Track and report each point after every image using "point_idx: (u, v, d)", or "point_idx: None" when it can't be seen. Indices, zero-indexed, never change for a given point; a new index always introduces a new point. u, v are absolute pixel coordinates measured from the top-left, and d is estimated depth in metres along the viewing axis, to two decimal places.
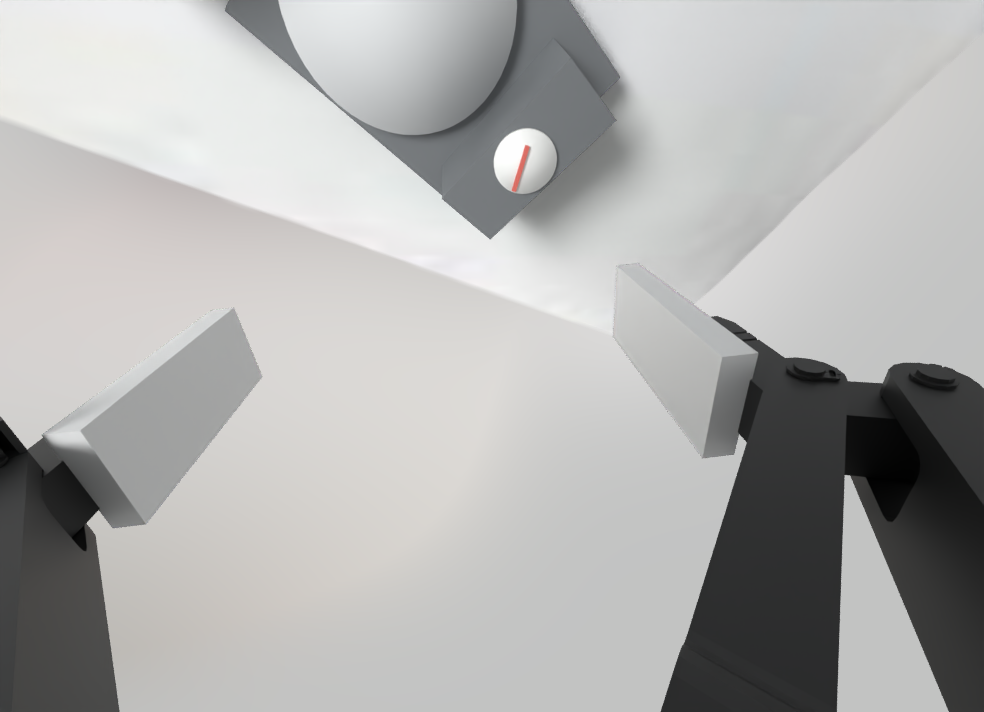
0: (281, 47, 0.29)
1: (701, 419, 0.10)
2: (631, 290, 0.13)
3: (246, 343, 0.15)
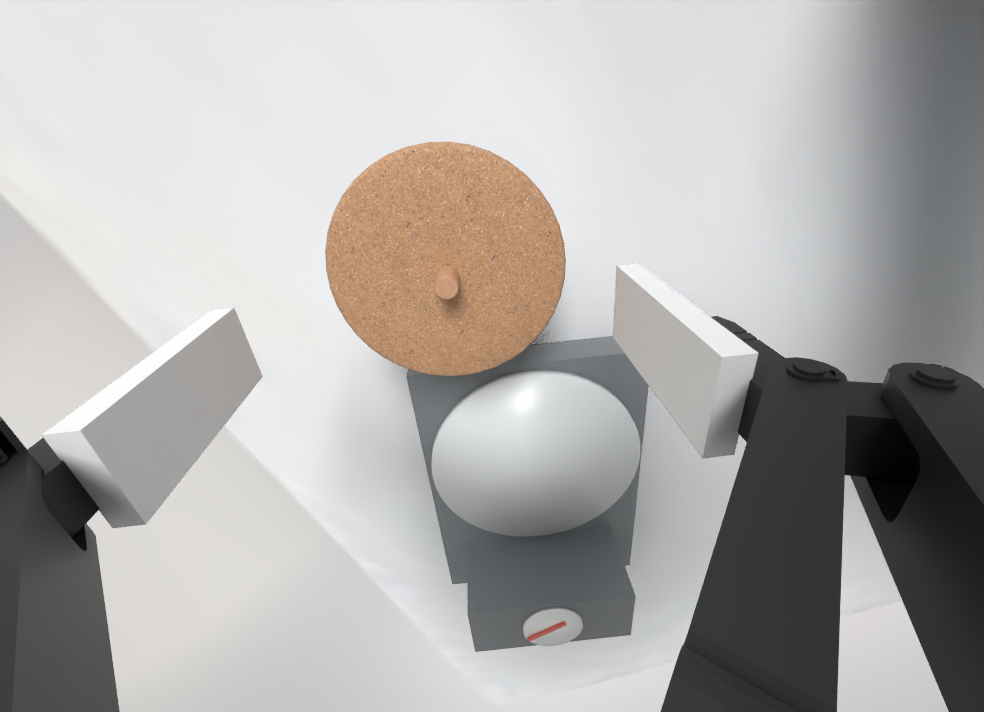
0: (424, 418, 0.29)
1: (701, 419, 0.10)
2: (631, 290, 0.13)
3: (246, 343, 0.15)
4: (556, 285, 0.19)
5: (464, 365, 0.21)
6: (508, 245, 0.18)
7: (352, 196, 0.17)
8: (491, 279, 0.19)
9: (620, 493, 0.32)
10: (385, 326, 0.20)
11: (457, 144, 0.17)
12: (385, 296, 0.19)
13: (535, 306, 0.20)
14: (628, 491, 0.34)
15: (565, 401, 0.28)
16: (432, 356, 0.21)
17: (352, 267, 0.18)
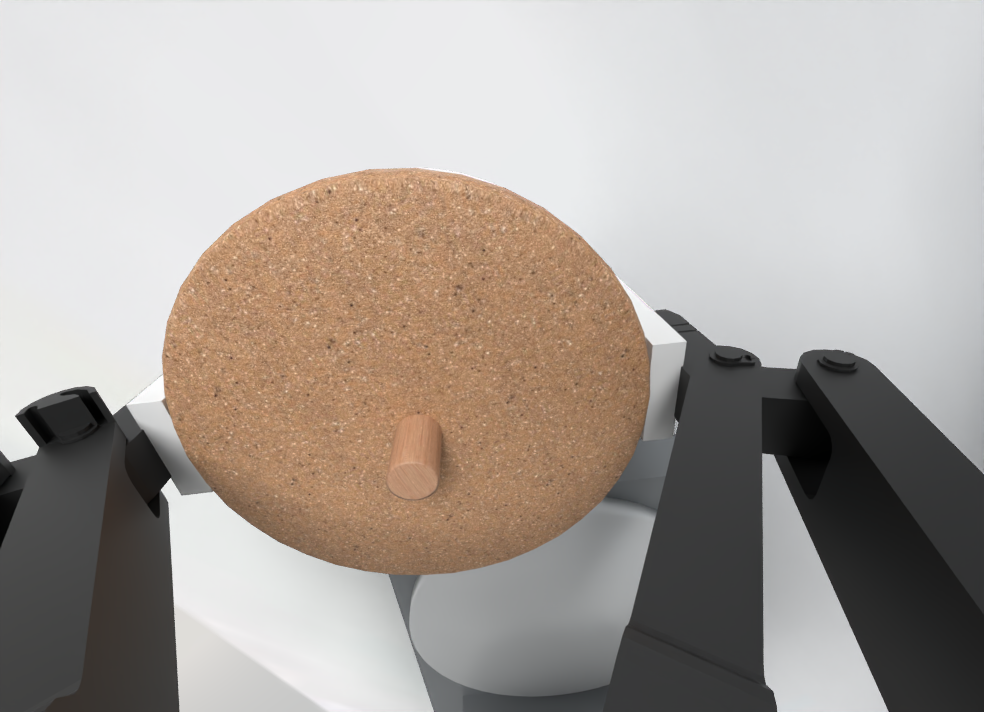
0: None
1: None
2: None
3: None
4: (630, 438, 0.10)
5: (454, 562, 0.12)
6: (542, 375, 0.09)
7: (200, 289, 0.08)
8: (505, 435, 0.10)
9: None
10: (302, 514, 0.10)
11: (432, 175, 0.07)
12: (295, 468, 0.10)
13: (588, 473, 0.10)
14: None
15: (609, 543, 0.18)
16: (396, 553, 0.11)
17: (221, 422, 0.09)
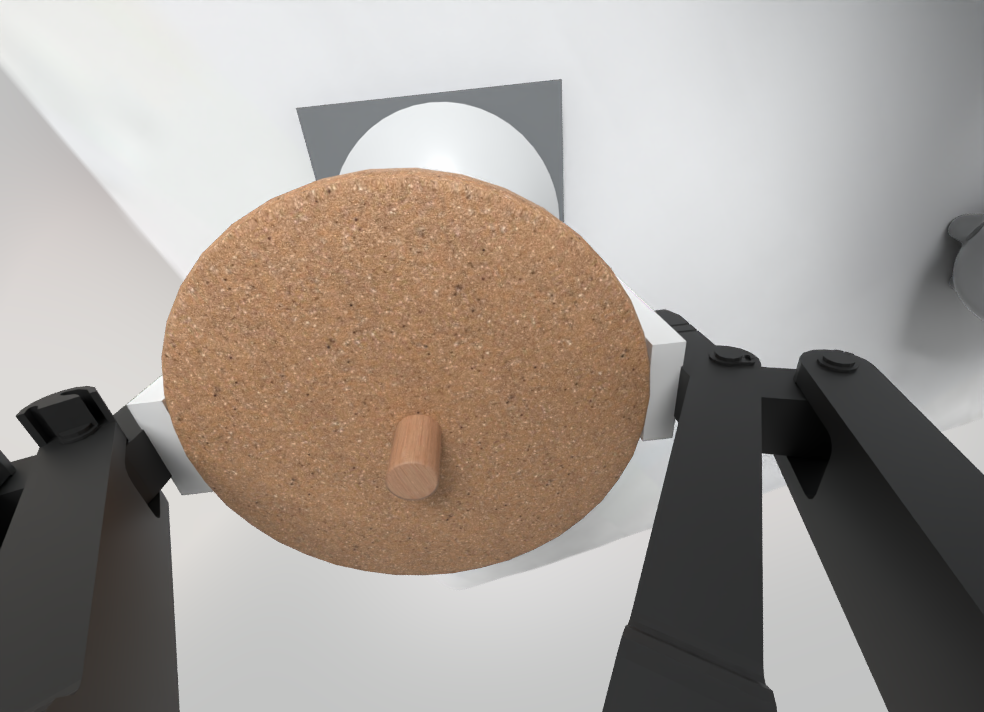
0: (322, 169, 0.27)
1: None
2: None
3: None
4: (630, 438, 0.10)
5: (454, 562, 0.12)
6: (542, 375, 0.09)
7: (200, 289, 0.08)
8: (504, 435, 0.10)
9: None
10: (302, 514, 0.10)
11: (432, 175, 0.07)
12: (295, 468, 0.10)
13: (588, 473, 0.10)
14: None
15: (470, 138, 0.26)
16: (395, 553, 0.11)
17: (221, 422, 0.09)
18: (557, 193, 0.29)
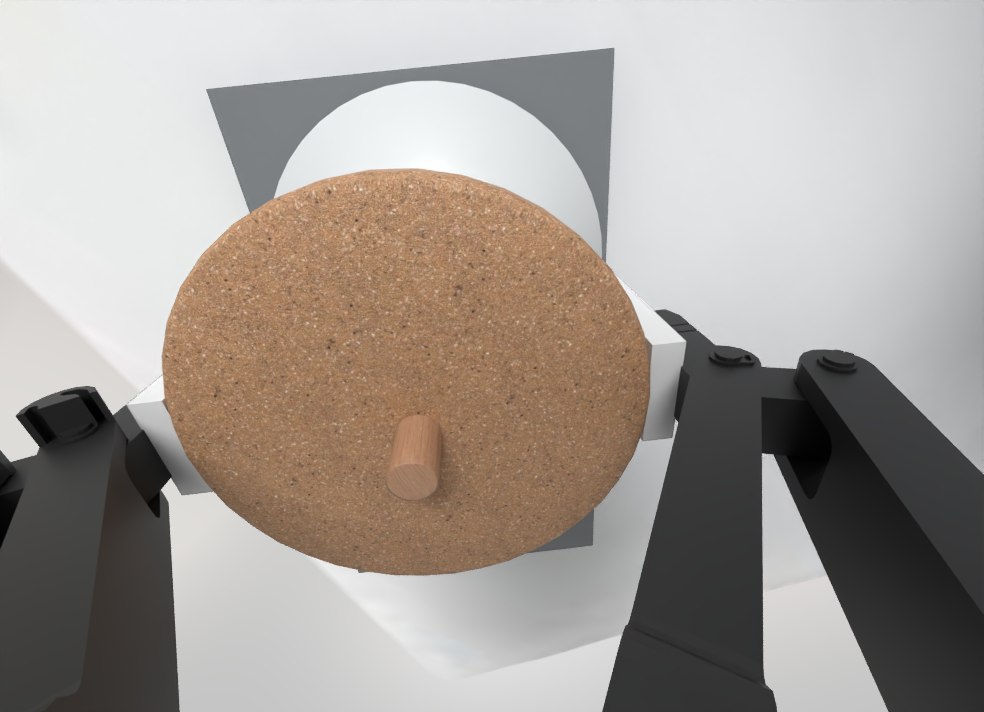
0: (254, 182, 0.18)
1: None
2: None
3: None
4: (630, 438, 0.10)
5: (454, 562, 0.12)
6: (542, 376, 0.09)
7: (200, 289, 0.08)
8: (504, 435, 0.10)
9: None
10: (302, 514, 0.10)
11: (432, 175, 0.07)
12: (295, 468, 0.10)
13: (588, 474, 0.10)
14: None
15: (473, 137, 0.17)
16: (396, 553, 0.11)
17: (221, 422, 0.09)
18: (599, 218, 0.20)
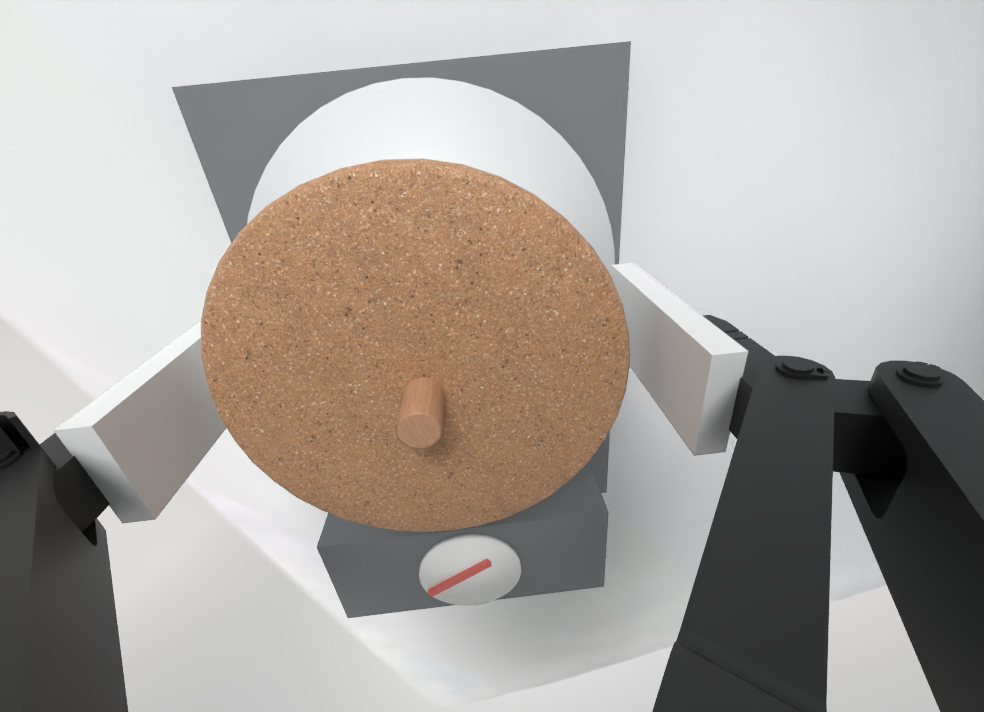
0: (228, 191, 0.16)
1: (693, 417, 0.10)
2: (626, 290, 0.13)
3: None
4: (612, 402, 0.11)
5: (455, 518, 0.13)
6: (532, 343, 0.10)
7: (237, 262, 0.09)
8: (500, 397, 0.11)
9: None
10: (319, 470, 0.12)
11: (437, 164, 0.08)
12: (314, 426, 0.11)
13: (575, 434, 0.12)
14: None
15: (473, 141, 0.15)
16: (402, 509, 0.13)
17: (251, 382, 0.10)
18: (611, 229, 0.18)
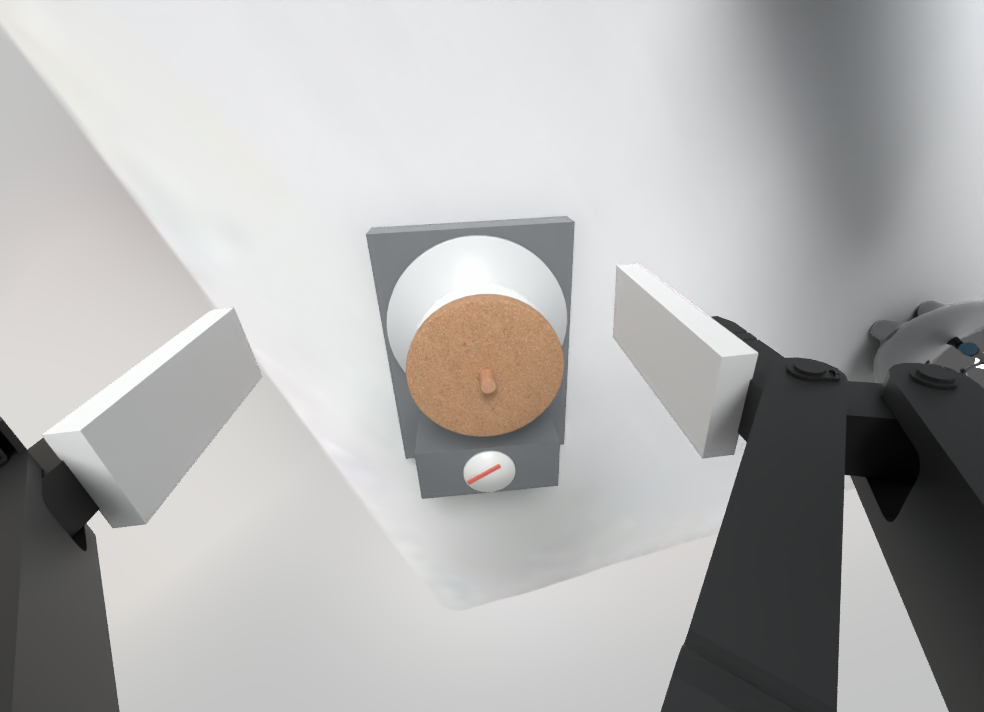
0: (381, 278, 0.34)
1: (701, 419, 0.10)
2: (631, 290, 0.13)
3: (246, 343, 0.15)
4: (557, 381, 0.29)
5: (492, 430, 0.30)
6: (528, 357, 0.28)
7: (430, 327, 0.26)
8: (515, 377, 0.29)
9: None
10: (441, 405, 0.29)
11: (500, 299, 0.26)
12: (443, 386, 0.28)
13: (543, 393, 0.29)
14: None
15: (501, 262, 0.33)
16: (471, 424, 0.30)
17: (424, 368, 0.28)
18: (566, 300, 0.36)
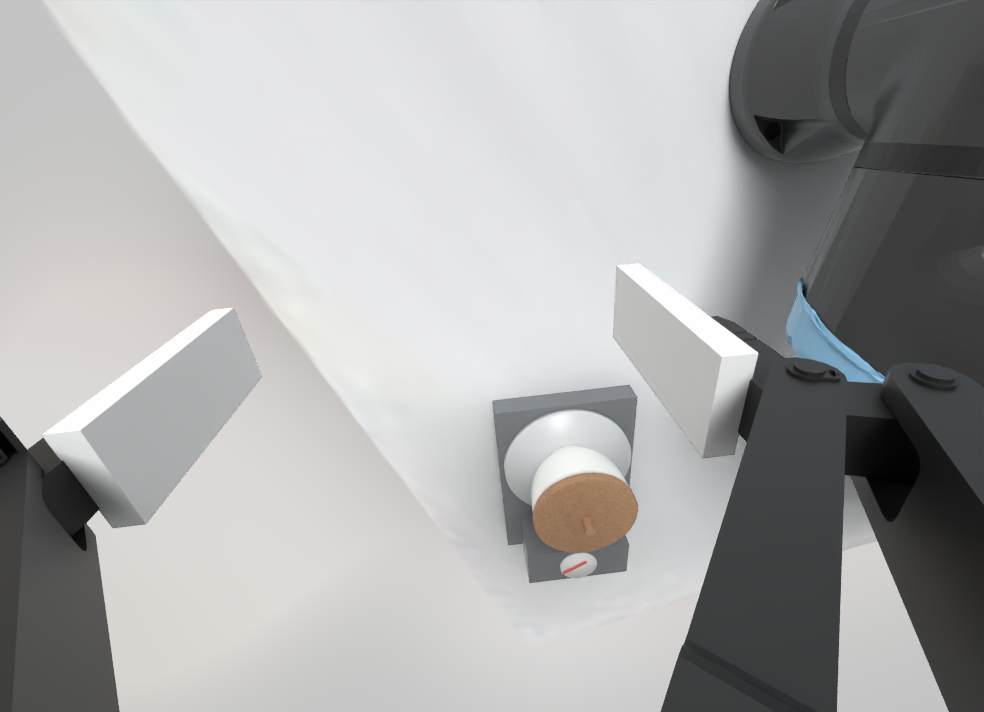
0: (502, 437, 0.48)
1: (701, 419, 0.10)
2: (632, 291, 0.13)
3: (246, 343, 0.15)
4: (633, 519, 0.43)
5: (587, 549, 0.45)
6: (614, 509, 0.42)
7: (552, 496, 0.41)
8: (605, 520, 0.43)
9: None
10: (555, 537, 0.44)
11: (598, 478, 0.41)
12: (558, 527, 0.43)
13: (623, 527, 0.44)
14: None
15: (587, 427, 0.47)
16: (573, 546, 0.45)
17: (546, 518, 0.42)
18: (629, 442, 0.50)
